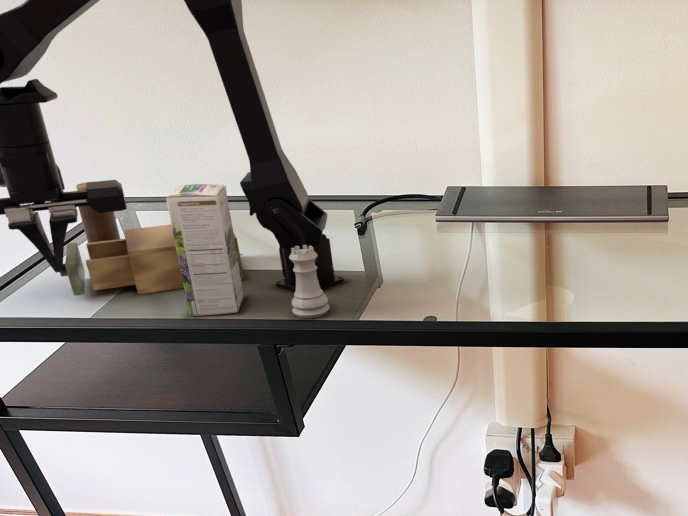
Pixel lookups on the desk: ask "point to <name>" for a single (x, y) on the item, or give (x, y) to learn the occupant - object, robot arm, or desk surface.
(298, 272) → the rook chess piece
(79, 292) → the drawer
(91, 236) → the pepper mill
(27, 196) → the robot arm
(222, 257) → the syrup box
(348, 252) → the desk surface
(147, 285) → the drawer unit
